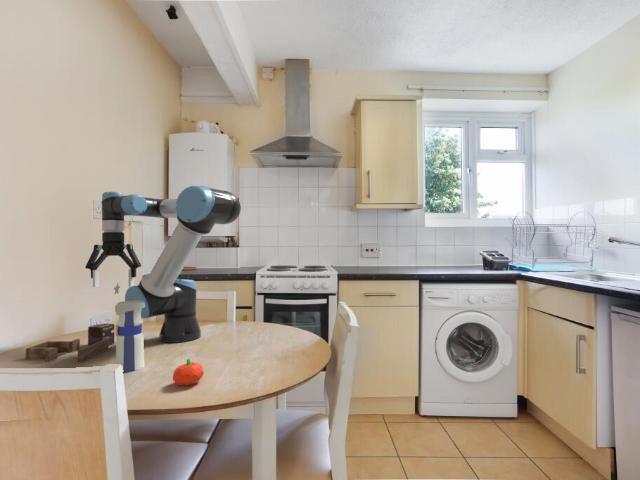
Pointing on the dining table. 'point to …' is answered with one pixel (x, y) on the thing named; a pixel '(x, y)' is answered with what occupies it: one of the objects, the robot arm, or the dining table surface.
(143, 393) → the dining table surface
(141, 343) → the water bottle
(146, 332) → the dining table surface
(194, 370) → the tomato
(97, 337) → the box
